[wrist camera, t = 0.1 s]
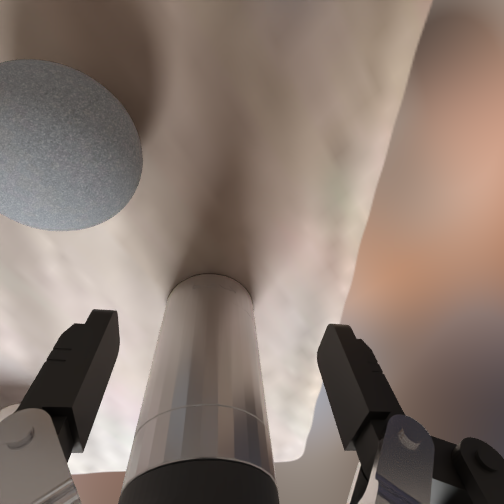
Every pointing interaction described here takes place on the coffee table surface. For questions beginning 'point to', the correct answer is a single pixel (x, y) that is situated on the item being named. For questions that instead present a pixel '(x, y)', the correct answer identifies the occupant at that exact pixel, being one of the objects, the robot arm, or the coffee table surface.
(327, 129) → the coffee table surface
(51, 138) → the decorative stone
